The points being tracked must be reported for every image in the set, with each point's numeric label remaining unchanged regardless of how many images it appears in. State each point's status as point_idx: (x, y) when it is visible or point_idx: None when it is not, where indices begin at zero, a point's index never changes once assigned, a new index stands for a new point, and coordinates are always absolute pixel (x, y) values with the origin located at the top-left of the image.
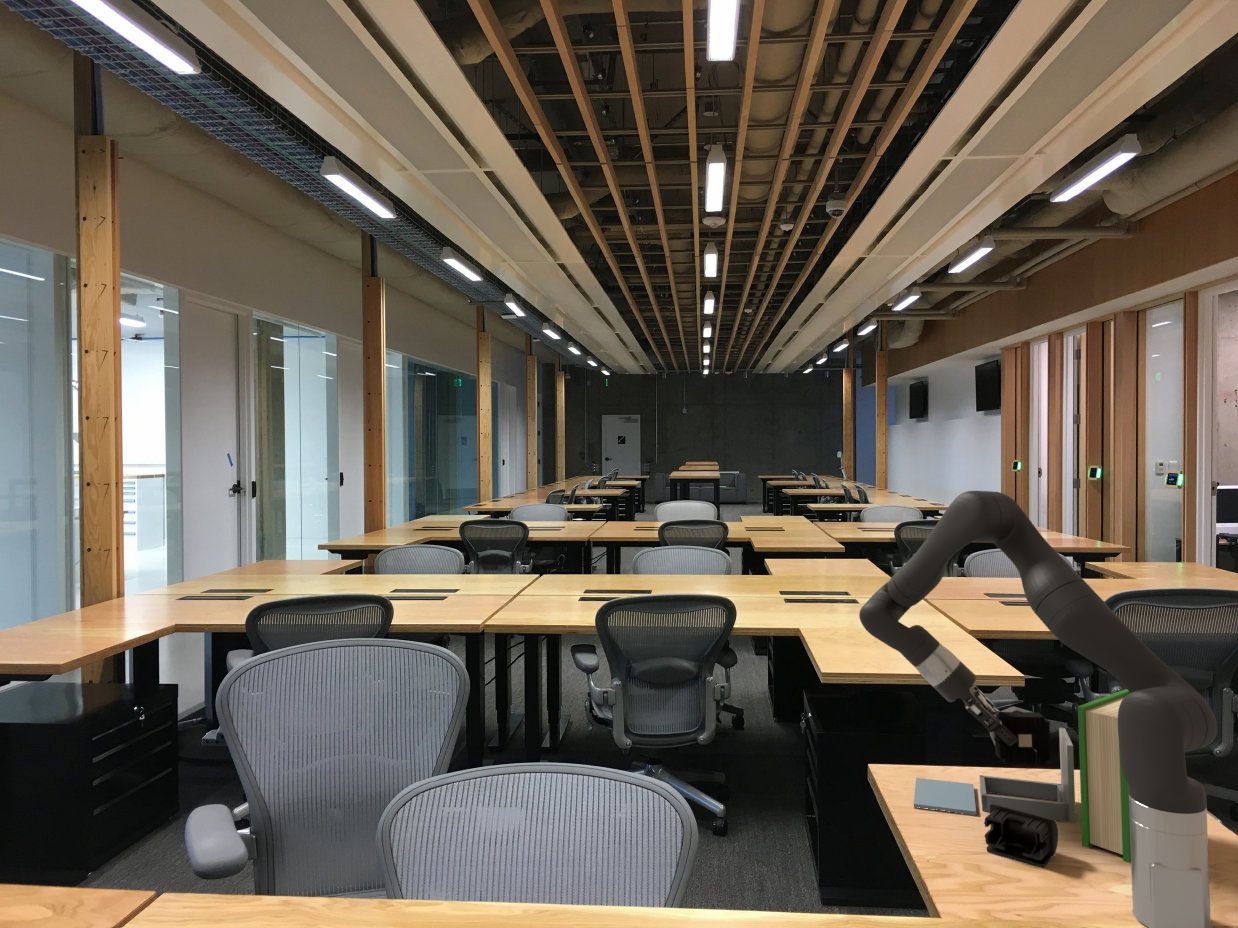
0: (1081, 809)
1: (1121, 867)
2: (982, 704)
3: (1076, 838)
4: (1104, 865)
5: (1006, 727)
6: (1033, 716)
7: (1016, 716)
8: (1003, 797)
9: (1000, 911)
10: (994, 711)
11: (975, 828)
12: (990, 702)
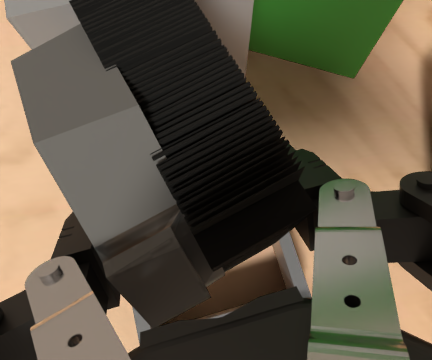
0: (388, 23)
1: (401, 16)
2: (424, 347)
3: (324, 92)
4: (414, 38)
5: (304, 173)
6: (188, 8)
7: (252, 94)
8: (292, 242)
9: None
10: (346, 227)
11: (426, 288)
12: (109, 321)
